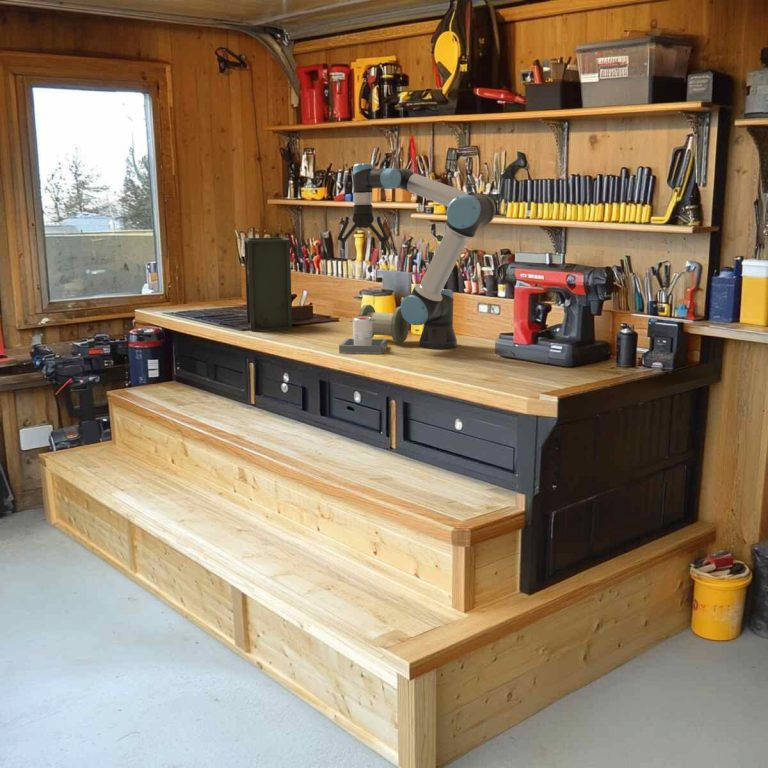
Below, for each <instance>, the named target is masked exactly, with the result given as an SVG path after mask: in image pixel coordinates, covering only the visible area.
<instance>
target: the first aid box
mask: <svg viewBox="0 0 768 768" xmlns="http://www.w3.org/2000/svg"><path fill="white" fill-rule="evenodd" d="M243 241H244V243H243V244H244V247H243V248H244V268H245V269H244V270H245V271H244V272H245V297H246V321H247V323H250V324H251V326H249V327H250V329H251V330H271V331H288V330H289V331H292V330H293V310H292V309H293V308H292V307H293V306H292V271H291V270H292V266H291V263H292V262H291V240H290V238H287V237H244V238H243ZM247 323H246V324H247ZM249 327H248V328H249ZM250 329H249V330H250ZM251 330H250V331H251Z"/></svg>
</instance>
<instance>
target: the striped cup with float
mask: <svg viewBox="0 0 768 768" xmlns="http://www.w3.org/2000/svg"><path fill="white" fill-rule="evenodd" d="M351 319H352V320H350V321H349V322H350V323H351V322H352V334H353V335H352V339H354V345H372V339H373V338H372V333H373V321H375V320H373V317H358V316H353V317H351Z"/></svg>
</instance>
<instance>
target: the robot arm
mask: <svg viewBox="0 0 768 768" xmlns="http://www.w3.org/2000/svg"><path fill="white" fill-rule="evenodd" d="M352 171H353V172H352V179H353V180H352V181H353V182H352V183H353V185H352V186H353V195H352V196H353V197H352V198H353V199H352V200H353V203H354V205H353V217H352V216H348V215H347V216H345V220H344V224H343V226H342V228H341V231H340V232H339V235H338V237H337V240H338V241H341V243H342V247H341V248H342V250H343V251H344V255H345V256H344V259H345V260H346V259H349V241H347V240H348V239H349V237H350V236H351V235H352V234H354V233H353V232H355V231H356V229H357V228H358V229H362V228H363V229H368V228H369V229H370V230H371V231H372V232H373V234H374V235H375V236H376V237H377V238H378V239H379V242H378V260H382V259H383V251H384V250H385V243H386V242H387V241H389V239H390V237H389V235H388V232H387V231H386V229H385V227H384V225H383V223H382V219H381V218H382V217H381V216H380V215H379V216H374V214H373V213H374V212H373V209H374V208H373V207H374V206H373V204H372V203H373V198H374V197H373V189H388V190H389V189H391V190H392V189H400V190H404V191H406V192H409V193H412V194H414V195H416V196H419V197H420V198H421V197H422V198H424V199H426V200H430V201H432V202H433V203H434V202H435V203H438V204H440V205H443V206H445V207H447V209H446V213H445V214H446V218H447V219H446V221H445V226H446V231H445V232H444V234H443V237H442V239H441V241H440V243H439V244H438V246H437V249H436V251H435V253H434V255H433V257H432V259H431V261H430V263H429V265H428V268H427V269H426V272H425V273H424V276H423V277H422V279H421V281H420V283H418V284H415V285H414V287H413V289H412V291H411V293H410V294H409V295H406V296H405V297H404V298H403V299H402V301H401V303H400V306H401V312H402V316H403V318H404V319H405V320H406V321H407V322H408V323H409V325H412V326H422V325H423V328H422V331H421V334H420V337H419V342H418V343H419V344H418V346H419V347H421V348H425V349H435V350H436V349H437V350H438V349H439V350H441V349H442V350H443V349H444V350H445V349H452V348H455V347H456V348H457V346H458V339H457V335H456V334H455V330H454V299H455V298H454V291H453V290H452V289H449V288H447V289H445V285H446V283H447V281H448V280H449V277H450V276H451V274H452V271H453V270H454V267H455V265H456V264H457V262H458V260H459V258H460V256H461V255H462V252H463V250H464V248H465V246H466V244H467V242H468V240H469V239H473V238H474V237H475V235H476V233H477V231H478V229H479V228H480V227H485V226H487V225H489V224H490V223H491V222H492V221H493V219H495V216H496V210H497V209H496V206H495V203H494V201H493V200H492V198H491V197H489V196H487V195H484V194H480V193H477V192H475V191H468V192H466V191H464V190H461V189H458V188H456V187H454V186H450V185H448V184H445V183H442V182H439V181H437V180H434V179H432V178H429V177H426V176H423V175H421V174H418V173H415V172H414V171H413V170H412V169H409V168H391V167H390V168H389V167H386V168H373V164H372V163H355V164H354V165H353V170H352ZM351 222H353V226H351V228H350V229H349V231H348V232H347V233H346V230H347V228H348V226H349V223H351ZM373 222H376V223H377V225H378V227H379V229H380V231H381V233H382V234H381V233H380V232H379V231H378V230H377V229H376V227H375V226H374V224H373ZM345 233H346V234H345ZM344 234H345V235H344Z"/></svg>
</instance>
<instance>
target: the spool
mask: <svg viewBox="0 0 768 768" xmlns="http://www.w3.org/2000/svg"><path fill="white" fill-rule="evenodd" d="M357 317H373V320H375V321H373V333H372V339H374V335H375V336H386V337H387V336H388V337H391V339H392V340H393V342H394V343H395V344H397V345H401V344H404V343H405V341H406V340H407V338H408V335H409V331H410V324H409V323H408V322H407V321H406V320H405V319H404V318H403V316H402V312H401V305H400V306H397V307H396V308H395V309H394V311H393V313H392V312H391V313H390V312H389V313H387V312H376V310H375V307H374V306H373V305H371V304H364V305H362V307H361V308H360V310H359V313H358V314H357Z"/></svg>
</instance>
